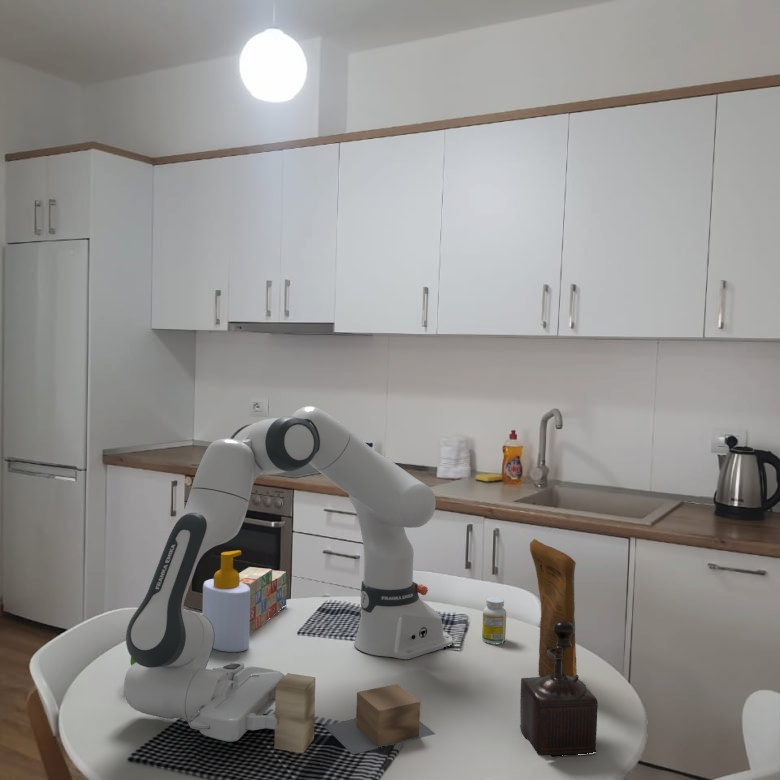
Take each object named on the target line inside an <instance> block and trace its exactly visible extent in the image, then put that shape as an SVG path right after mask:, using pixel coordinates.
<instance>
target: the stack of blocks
mask: <svg viewBox="0 0 780 780" xmlns="http://www.w3.org/2000/svg"><path fill="white" fill-rule="evenodd" d="M238 573H239V577H240V582H242V583H244V584H246V585H247V586H248V587H249V588H250V627H249V635H251V634H252V633H253V632H255V631H256V630H258V629H259V628H261V627H262V626H263V625H265V624H266V623H267V622H268V621H269V620H270V619H269V618H271V617H272V616H273V615H274V614H275V613H277V612H278V611H279V610H280V609H282V607H283V606H285V605H286V606H287V591H288V589H287V588H288V584H287V571H283V570H274V569H272V568H262V567H254V566H253V567H252V566H248V567H247V568H245V569H243V570H242V571H241V572H238ZM277 614H278V613H277ZM274 616H275V615H274ZM274 616H273V617H274ZM273 617H272V618H273ZM272 618H271V619H272ZM268 619H269V620H268ZM267 620H268V621H267ZM266 621H267V622H266ZM265 622H266V623H265ZM264 623H265V624H264ZM262 624H263V625H262ZM261 625H262V626H261ZM258 627H259V628H258ZM257 628H258V629H257ZM254 630H255V631H254ZM251 632H252V633H251ZM250 633H251V634H250Z"/></svg>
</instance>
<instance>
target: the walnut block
mask: <svg viewBox="0 0 780 780" xmlns="http://www.w3.org/2000/svg"><path fill="white" fill-rule="evenodd" d="M355 712H356V713H355V714H356V717H355V719H356V726H357V727H358V728H359V729H360V730H361V731H362V732H363V733H364V734H365V735H366V736H367V737H369V738H370V739H371V740H372V741H373V742H374V743H375V744H376V745H377V746H381V745H385V744H389V743H393V742H397V741H401V740H405V739H409V738H413V737H417V736H419V723H420V722H421V721H420V719H421V717H420V715H421V701H420V700H419V699H417V698H416V697H415V696H413V695H412V694H411V693H409V691H407V690H405V689H404V688H403V687H402V686H400V685H399V684H398V683H394V684H390V685H386V686H380V687H376V688H371V689H366V690H362V691H357V692H356V711H355Z"/></svg>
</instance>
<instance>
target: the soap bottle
mask: <svg viewBox="0 0 780 780" xmlns="http://www.w3.org/2000/svg"><path fill="white" fill-rule="evenodd" d="M241 555H242V551H241V550H240V549H239V550H231V551H223V552H221V553H220V569H219V570H217V571H215V573H214V575H213V578H210V579H207V580H204V582H203V585H202V613H201V614H202V615H204V616H205V617H207V618H208V619H209V621H210V622H211V624H212V626H213V629H214V634H215V639H214V645H213V648H212V650H216V651H220V652H226V653H239V652H240V653H241V652H244V651H246V650H248V649H249V646H250V634H249V627H250V588H249V587H248V586H247V585H246V584H244V583H242V582H240V577H239V573H240V572H238V570H236V569H235V568H234V558H236V557H239V556H241Z"/></svg>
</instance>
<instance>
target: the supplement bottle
mask: <svg viewBox="0 0 780 780" xmlns="http://www.w3.org/2000/svg"><path fill="white" fill-rule="evenodd" d="M504 604H505V600H504V599H503V598H501V597H496V596H495V597H494V596H493V597H491V596H490V597H487V598H486V606H485V607H484V608H483V611H482V631H481V635H482V636H481V639H482V642H484V641H485V642H484V643H486V642H487V643H486V644H489V643H495V644H494V645H497V644H496V643H502V642H504V641H505V642H506V633H507V629H506V627H507V610H506V609H505V608H504V606H505V605H504ZM505 642H504V643H505ZM502 644H503V643H502Z"/></svg>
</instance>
